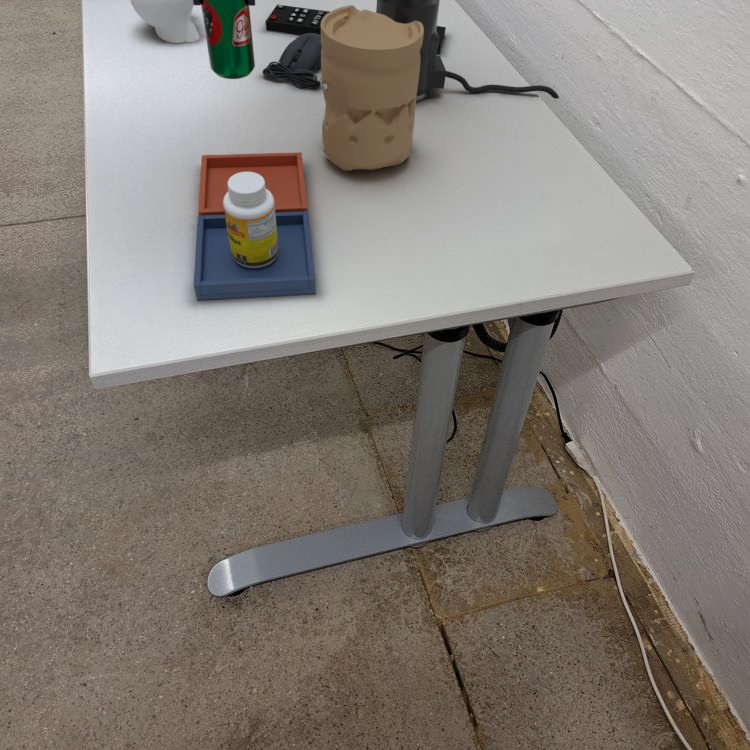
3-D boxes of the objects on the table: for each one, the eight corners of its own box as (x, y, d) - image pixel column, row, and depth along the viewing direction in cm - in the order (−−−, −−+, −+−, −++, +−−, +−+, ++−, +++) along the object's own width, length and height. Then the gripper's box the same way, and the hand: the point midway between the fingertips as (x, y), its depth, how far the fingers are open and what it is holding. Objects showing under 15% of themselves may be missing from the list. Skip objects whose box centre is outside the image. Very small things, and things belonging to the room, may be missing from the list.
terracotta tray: (302, 166, 89) (301, 152, 87) (308, 222, 82) (307, 207, 80) (204, 170, 88) (201, 155, 86) (201, 227, 80) (198, 212, 78)
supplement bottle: (226, 245, 77) (213, 172, 69) (270, 236, 78) (263, 162, 70) (238, 275, 74) (227, 201, 66) (285, 264, 75) (279, 191, 67)
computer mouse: (350, 54, 111) (351, 31, 108) (316, 92, 102) (316, 68, 99) (297, 42, 113) (296, 19, 110) (260, 79, 104) (257, 55, 101)
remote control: (276, 12, 120) (275, 1, 118) (444, 35, 117) (446, 24, 116) (264, 30, 115) (263, 18, 113) (439, 54, 112) (440, 42, 111)
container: (340, 126, 96) (341, -3, 82) (420, 144, 94) (435, 15, 80) (309, 171, 89) (304, 37, 75) (395, 191, 87) (407, 58, 73)
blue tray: (308, 225, 81) (307, 210, 79) (315, 293, 74) (315, 279, 72) (201, 230, 80) (197, 215, 78) (197, 300, 72) (193, 285, 70)
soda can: (247, 84, 72) (233, -35, 63) (204, 77, 73) (185, -42, 63) (261, 63, 75) (250, -53, 66) (220, 57, 76) (204, -59, 66)
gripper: (107, -203, 52) (153, 18, 65) (284, -197, 54) (294, 17, 67) (118, -222, 57) (159, -12, 70) (281, -215, 58) (290, -12, 71)
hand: (225, 1), depth 68 cm, fingers closed on soda can, 5 cm apart
